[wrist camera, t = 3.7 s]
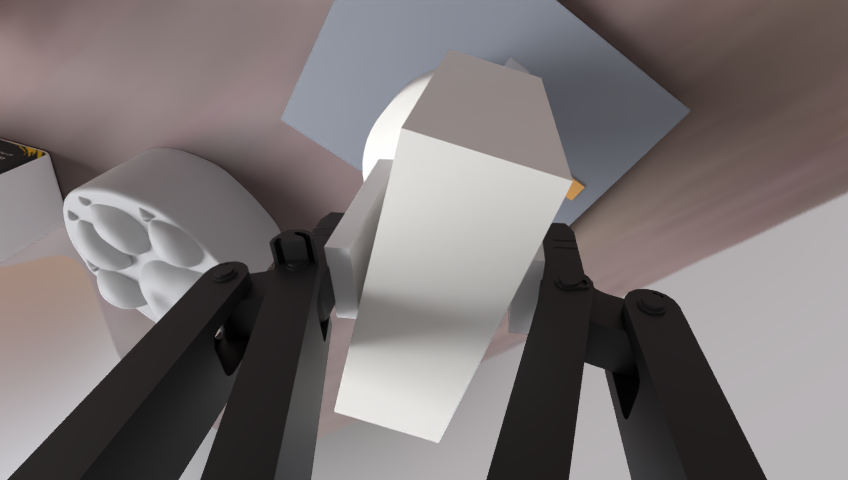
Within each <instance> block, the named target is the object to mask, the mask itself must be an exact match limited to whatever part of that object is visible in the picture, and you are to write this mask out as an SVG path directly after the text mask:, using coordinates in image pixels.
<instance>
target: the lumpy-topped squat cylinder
mask: <svg viewBox="0 0 848 480" xmlns="http://www.w3.org/2000/svg"><path fill="white" fill-rule="evenodd" d="M63 215H64V220H65V225H66V228H67V232H68V234H69V237H70V239H71V241H72V243H73V245H74V246H75V248H76V250H77V251H78V253H79V254H80V256H81V257H82V258H83V260H84V261H85V263H86V264H87V266H88V268H89V269H90V270H91V271H92V272H93V273H94V274H95V275H96V276H97V284H98V287H99V291H100V293H101V295H102V296H103V298H104V299H105V300H106V301H108V302H109V303H110V304H112V305H114V306H117V307H119V308H123V309H133V308H136V309H137V310H139V311H140V312H142V313H143V314H144V315H146V316H147V317H148V318H150V319H151V320H153V321H154V322H156V323H157V322H158V321H159V320H160V319H161V318H162V317H163V316H164V315H165V314H166V313H167V312H168V311H169V310H170V309H171V308H172V307H173V306H174V304H175V303H176V302H177V301H178V300H179V299H180V298H181V297H182V296H183V295H184V294H185V293H186V292H187V291H188V290H189V289H190V288H191V287H192V286H193V285H194V284H195V282H196V281H197V280H198V279H199V278H200V277H201V276H202V275H203V274H204V273H205V272H206V271H208V270H209V269H210V268H212V267H214V266H216V265H218V264H220V263H224V262H232V261H238V262H242V263H244V264H246V265H247V266H248V269H249V272H250V273H257V272H264V271H267V270H268V268H269V267H270V266H271V264H272V263H273V262H274V259H273V255H272V252H271V248H270V244H269V242H270V241H271V240H272V238H274V237H275V236H277V235H278V234H280V233H281V232H280V230H279V228H278V226H277V224H276V223H275V221H274V220H273V219H272V217H271V216H270V215H269V214H268V213H267V212H266V210H265V209H264V208H263V207H262V206H261V205H260V204H259V202H258V201H257V200H256V199H255V198H254V197H253V196H252V195H251V194H250V193H249V192H248V191H247V190H246V189H245V188H244V187H243V186H242V185H241V184H240V183H239V182H238V181H237V180H235V179H234V178H233V177H232V176H231V175H230V174H229V173H227V172H226V171H225V170H223V169H222V168H221V167H219V166H217V165H216V164H214V163H212V162H210V161H207V160H205V159H203V158H201V157H198V156H196V155H193V154H190V153H188V152H185V151H181V150H178V149H171V148H152V149H148V150H146V151H144V152H142V153H140V154H138V155H136V156H134V157H132V158H131V159H129V160H127V161H125V162H123V163H121V164H119V165H118V166H116V167H114V168H112V169H110V170H109V171H107V172H105V173H103V174H101V175H99V176H98V177H96V178H94V179H92V180H90V181H89V182H87V183H85V184H83V185H82V186H80V187H78V188H76V189H74V190H73V191H71V192H70V193H69V194H68V195H67V197H66V199H65V201H64V206H63Z"/></svg>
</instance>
